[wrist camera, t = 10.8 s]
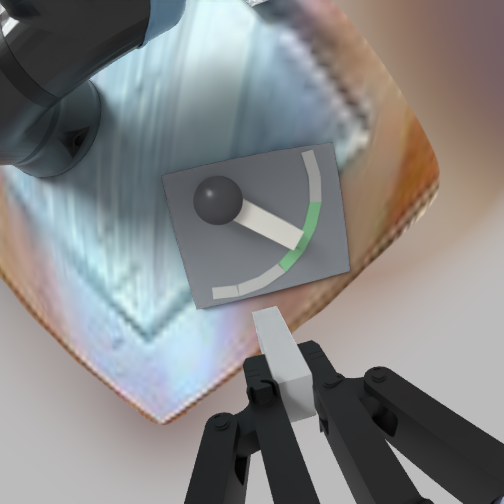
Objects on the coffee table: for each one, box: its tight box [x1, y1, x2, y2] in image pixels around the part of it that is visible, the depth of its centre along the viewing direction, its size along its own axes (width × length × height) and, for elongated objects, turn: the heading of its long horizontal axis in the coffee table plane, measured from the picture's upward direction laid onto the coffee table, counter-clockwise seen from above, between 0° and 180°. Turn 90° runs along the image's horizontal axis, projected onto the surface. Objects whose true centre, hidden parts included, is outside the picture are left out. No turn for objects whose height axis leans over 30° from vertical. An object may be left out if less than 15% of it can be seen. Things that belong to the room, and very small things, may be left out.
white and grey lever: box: [193, 175, 304, 251], centre depth 33 cm, size 14×5×6 cm, turn 62°
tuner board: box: [161, 143, 350, 310], centre depth 38 cm, size 22×18×2 cm
